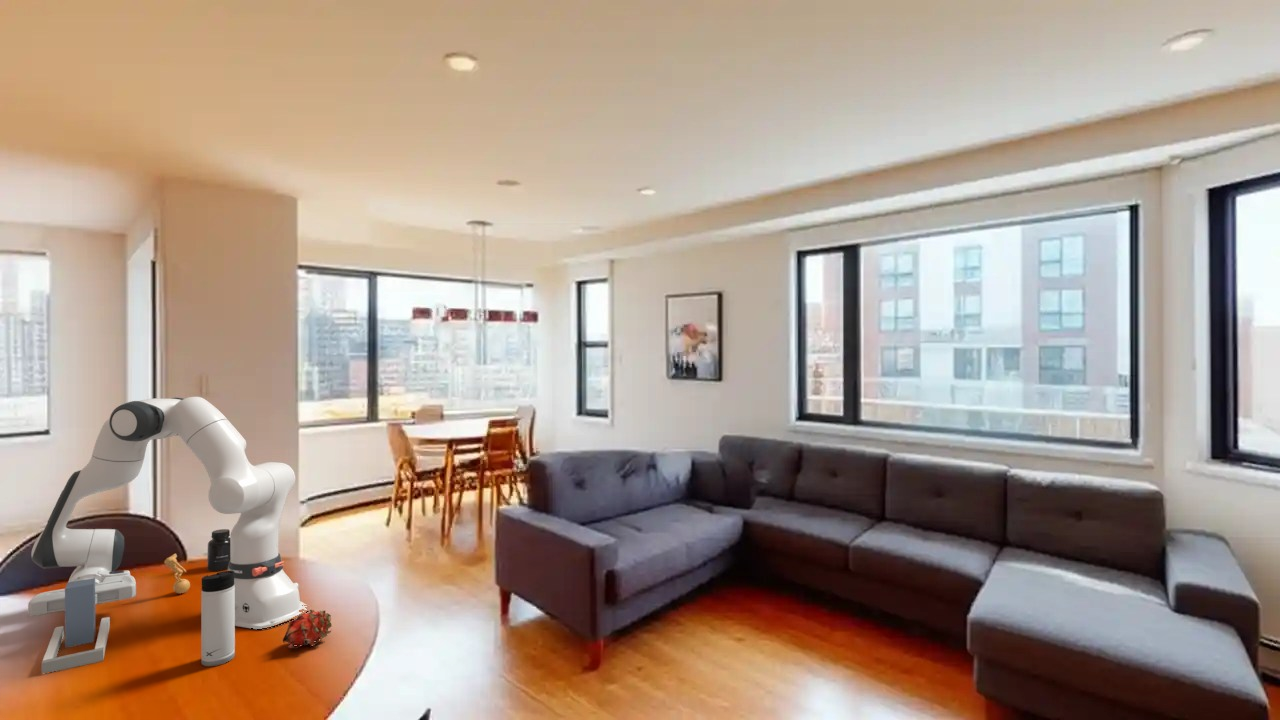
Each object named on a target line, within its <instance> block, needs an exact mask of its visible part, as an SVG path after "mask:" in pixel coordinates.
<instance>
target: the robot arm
mask: <svg viewBox="0 0 1280 720" xmlns="http://www.w3.org/2000/svg"><path fill="white" fill-rule="evenodd" d="M175 436H178V437H180V439H181V441H183V442H184V443H185V444H186V446H187V447H188V448H189V449H190V450H191V451H192V453H193V454H194V456H195V457H196V458H197V459H198V460H199V461H200V463H201V464H202V465H203V467H204V469H205V470H206V472H207V474H208V477H209V480H210V481H209V482H210V486H209V490H208V501H209V504H210V506H211V507H212V508H213V510H215V511H216V512H218V513H220V514H224V515H232V514H240V515H239V517H238V520H237V522H236V523H235V525H234V526H233V527H232V529H231V531H230V536H229V537H230V561H229V565H228V569H227V571H234V583H235V586H234V587H235V627H241V628H246V629H251V628H253V629H252V630H257V629H262V628H267V627H271V626H274V625H277V624H279V623H282V622H284V621H287V620H289V619H291V618H293V617H295V616H297V615H299V614H301V613H302V612H299V610H302V609H304V610H307V609H306V608H305V607H307V606H304V605H307V604H306V603H304V602H303V601H301V599H300V592H299V590H300V589H299V588H300V587H299V583H298V582H293V580H291V579H290V577H289V576H288V575H287V573H286V572H285V571H284V569H283V568H284V566H285V564H284V563H285V560H282V557H281V554H280V553H279V542H280V541H279V538H280V536H279V535H280V525H281V524H280V523H281V519H282V514H283V511H284V507H285V503H286V501H287V498H288V496H289V494H290V492H291V491H292V490H293V488H294V486H295V484H296V474H295V472H294V469H293V468H292V467H291V466H290V465H289V464H287V463H285V462H278V461H277V462H276V461H275V462H274V461H266V462H263V463H259V464H255V465H254V464H252V463H251V462H250V461H249V460H248V457H247V454H246V449H247V445H248V444H247V441H246V439H245V438H244V437H243V435H242V434H241V433H240V432H239V431H238V430H237V429H236V427H235V426H234V425H233V424H232V422H230V421H229V419H228V418H227V417H226V416H225V415H224V414H223V413H222V412H221V411H220V410H219V409H218V408H217V407H216V406H215V405H213V404H212V403H211V402H210V401H208V400H206V399H205V398H204V397H201V396H189V397H185V398H183V397H172V398H162V397H161V398H159V397H157V398H156V397H155V398H148V399H142V400H132V401H129V402H126V403H122V404H120V405H119V406H116V407H115V408H114V409H113V410H112V412H111V414H110V416H109V418H108V419H106V421H105V422H104V423H103V425H102V426H101V428H100V431H99V433H98V435H97V438H96V439H95V443H94V446H93V450H92V455H91V457H90V460H89V461H88V463H87V464H86V465H85V466H84V467H83V468H82V469H80V470H76V471H74V472H73V473H72V474H71V475H70V477H69V478H68V480H67V482H66V484H65V486H64V487H63V490H62V491H61V493H60V495H59V497H58V499H57V501H56V502H55V505H54V507H53V509H52V512H51V514H50V516H49V517H48V520H47V523H46V524H45V527H44V529H43V530H42V531H41V533H40V534H39V536H38V537H37V539H36V540H35V542H34V543H33V546H32V549H31V552H30V553H31V554H30V555H31V556H30V557H31V561H32V562H33V563H34V564H35V565H37V566H38V567H40V568H42V569H44V570H45V569H56V568H61V567H76V568H75V569H74V570H73V571H72V573H71V575H70V576H69V578H68V582H74V581H80V580H86V579H92V578H95V606H96V605H102V604H107V603H113V602H116V601H123V600H127V599H133V598H135V597H136V596H137V582H136V579H135V577H134V576H133V575H131V572H130V570H117V569H118V568H119V567H120V565H121V563H122V560H123V556H124V551H125V545H126V543H125V542H126V541H125V536H124V535H123V534H122V533H121V531H119V529H115V528H113V529H112V528H95V529H93V528H88V529H87V528H68V527H67V525H68V522H69V520H70V519H71V517H72V516H71V515H72V514H73V512H74V509H75V507H76V505H77V503H78V502H79V501H81V500H82V499H85V498H86V497H88V496H91V495H94V494H98V493H101V492H107V491H112V490H115V489H118V488H121V487H123V486H125V485H128V484H129V483H131V482H132V481H134V480H135V479H136V478H137V477H138V476H139V475H140V472H141V470H142V466H143V463H144V461H145V455H146V451H147V446H148V444H149V442H150V441H151V440H152V441H153V440H162V439H167V438H171V437H175ZM68 582H67V583H68ZM27 605H28V606H27V607H28V609H27V614H28V615H27V616H31V617H36V616H37V617H38V616H41V615H48V614H52V613H58V612H63V611H64V612H65V588H61V589H55V590H49V591H44V592H40V593H38V594H36V595H34V596H33V597H32V598H31V599H30V600H29V602H28V603H27ZM302 605H303V606H302ZM303 612H304V611H303ZM271 628H272V627H271ZM267 629H268V628H267ZM262 630H263V629H262Z"/></svg>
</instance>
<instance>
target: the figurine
mask: <svg viewBox="0 0 1280 720" xmlns="http://www.w3.org/2000/svg"><path fill="white" fill-rule="evenodd" d="M177 557H178V555H177V553H174V554H172V555H170V556H169V557H166V559H165V560H164V561H163V562H164V565H165V566H166V568H167V569H170V570H171V571H172V572H175V573H174V574H173V576H174V579H175V580H176V581H175V582H174V584H173V585H172V589H173V592H174V593H176V594H180V595H181V593H182V594H184V593H186V592H187V591H189V589H190V588H191V582H190V581H189V580H188V579H186V578H180V577H181V576H182V574H183V573H187V570H186V569H185V568H184V567H183V566H182V565H181V564H180V563H179V562H178V560H177Z"/></svg>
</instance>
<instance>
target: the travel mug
mask: <svg viewBox="0 0 1280 720" xmlns="http://www.w3.org/2000/svg"><path fill="white" fill-rule="evenodd" d="M234 586H235V583H234V571H228V570H223V571H217V572H216V573H215V574H211V575H208V574H207V575H204V576H203V577H201V589H200V590H201V591H200V592H201V596H200V597H201V598H200V599H201V601H200V602H201V607H200V608H201V609H200V611H201V612H200V613H201V615H200V617H201V622H200V623H201V628H200V629H201V630H200V633H201V635H200V636H201V638H200V639H201V640H200V643H201V645H200V646H201V650H200V653H201V654H200V655H201V656H200V657H201V660H200V661H201V663H200V664H201V665H202V666H204V667H216V666H221V665H224V664H226V662H227V663H229V662H230V661H232V660H233V659H234V658H235V655H236V652H235V651H236V650H235V647H236V637H235V635H236V634H235V633H236V628H235V627H236V626H235V587H234ZM228 661H229V662H228Z"/></svg>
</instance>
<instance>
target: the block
mask: <svg viewBox="0 0 1280 720" xmlns="http://www.w3.org/2000/svg"><path fill="white" fill-rule="evenodd" d="M64 589H65V610H64V646H65V647H64V648H65V649H67V648H66V647H69V648H73V647H76V646H75V645H78V646H82V645H81V644H83V645H87V644H90V643H91V644H92V643H94V642H95V637H96V605H95V578H92V579H86V580H80V581H74V582H67V583H66V585H65V588H64ZM86 643H87V644H86ZM72 646H73V647H72Z"/></svg>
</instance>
